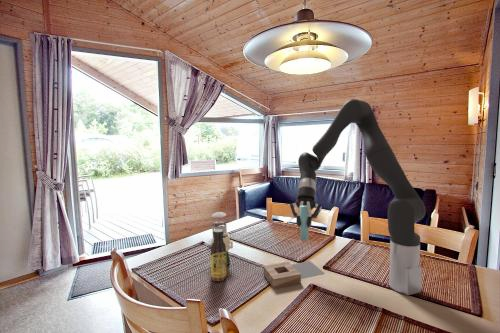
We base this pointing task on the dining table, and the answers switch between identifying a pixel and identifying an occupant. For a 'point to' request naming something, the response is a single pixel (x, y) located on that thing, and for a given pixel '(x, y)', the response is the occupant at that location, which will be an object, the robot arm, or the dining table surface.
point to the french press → (218, 222)
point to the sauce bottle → (218, 256)
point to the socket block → (282, 275)
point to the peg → (303, 223)
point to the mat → (307, 269)
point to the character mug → (227, 242)
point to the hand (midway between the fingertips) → (303, 226)
